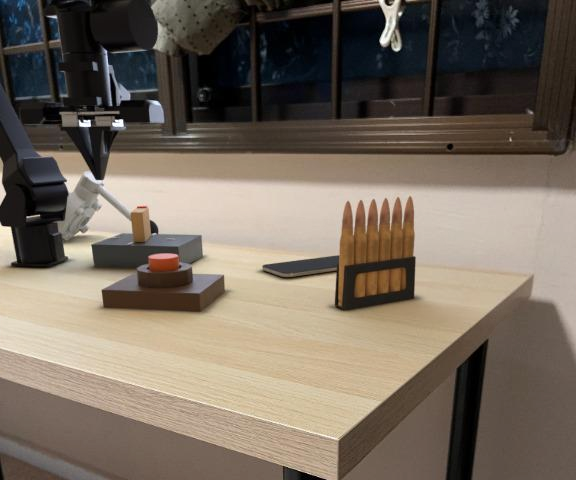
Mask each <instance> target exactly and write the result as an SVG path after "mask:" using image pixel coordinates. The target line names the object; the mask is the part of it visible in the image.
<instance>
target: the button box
mask: <svg viewBox="0 0 576 480" xmlns="http://www.w3.org/2000/svg"><path fill="white" fill-rule="evenodd" d="M135 270H136V271H135V272H133V273H132V274H129V275H127V276H125V277H124V278H122V279H120V280H118V281H116V282H113V283H112V284H110V285H108V286H106V287H104V288H102V289H101V296H102V304H103V308H105V309H124V310H125V309H126V310H127V309H128V310H146V311H147V310H149V311H171V312H173V311H174V312H192V313H193V312H194V313H195V312H196V313H201V312H202V311H204V310H205V309H206V308H207V307H208V306H209V305H210V304H212V303H214V301H215V300H217V299H218V298H219V297H220V296H221V295H223V293H225V292H226V287H225V286H226V285H225V274H218V273H217V274H213V273H194V272H193V266H192V264H187V263H181V262H179V269H175V270H168V271H152V270H149V264H145V265H142V266H140V267H138V268H135Z"/></svg>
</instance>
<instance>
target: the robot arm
mask: <svg viewBox="0 0 576 480" xmlns="http://www.w3.org/2000/svg"><path fill="white" fill-rule="evenodd" d="M88 1H89V2H90V4H89V3H87V1H85V0H70V1H69V0H50V2H49V3H48V4H47V5H46V6H45V8H44V9H43V16H45V17H47V18H52V19H56V21H57V27H58V29H57V30H58V35H59V36H58V37H59V43H60V51H61V57H62V62H61V61H60V62H57V66H58V72H62V73H64V80H65V87H66V96H67V97H62V102H53V101H23V102H21V104H20V107H19V110H18V115H17V113H16V111H15V108H14V107H13V105H12V104H11V101H10V99H9V97H8V95H7V94H6V91H5V89H4V87H3V86H2V84H1V82H0V160H1V162H2V175H1V185H2V188H3V189H4V190H3V191H4V193H5V195H4V197H3V199H2V201H1V203H0V225H1V227H4V228H5V227H6V228H7V227H8V228H10V231H11V236H12V237H11V238H12V242H13V247H14V253H15V259H16V260H15V261H12V262H10V266H11V267H35V268H37V267H39V268H44V267H45V268H49V267H52V266H54V265H58V264H59V263H63V262H65V261H67V260H69V256H67V255H66V253H65V248H64V247H65V246H64V241H63V240H64V239H62V234H61V232H59V230H58V223H57V221H65V215H66V207H67V199H68V196H69V194H68V191H69V189H68V186H67V184H66V183H67V182H68V179H67V178H66V177H64V175H63V173H62V172H61V169H60V167H59V164H58V162H57V160H56V159H55V157H54V156H42V155H41V154H39V153H38V152H37V151H36V150H35V148H34V147H33V144H32V143H31V139H29V137H28V135H27V132H26V130H25V128H24V127H23V125H29V126H30V125H31V126H32V125H34V126H36V125H37V126H42V125H43V126H48V125H49V126H50V125H51V126H52V125H53V126H55V125H56V126H57V125H61V126H59V131H60V132H66V134H67V135H68V137H69V138H70V140H71V141H72V143H73V144H74V145H75V147H76V148H77V150H78V152H79V153H80V155H81V156H82V158H83V160H84V162H85V164H86V166H87V167H88V169H89V171H90V172H92V174H93V176H94V178H95V180H103V181H104V180H105V178H106V173H107V169H108V168H107V167H108V163H109V160H110V154H111V152H112V151H111V150H112V148H113V144H114V142H115V139H116V138H117V136H118V135H119V133H121V131H123V132H124V131H126V128H127V126H124V123H126V124H139V123H140V124H165V115H164V114H165V113H164V108H163V106H162V104H161V103H160V102H159V101H158V100H152V99H151V100H150V99H131V93H130V92H129V91H128V89H126V88H125V87H124V86H123V85H122V84H121V83H120V82H117V80H116V76H115V71H114V67H113V65H111V64H109V60H108V53H110V54H119V53H121V54H122V53H130V52H131V53H132V52H133V53H134V52H143V51H145V52H146V51H150V50H153V48H154V47H155V46H156V45H157V42H158V37H159V23H158V21H157V19H156V16H155V13H154V10H153V8H152V7H151V5H150V4H149V2H148V1H147V0H88ZM84 109H86V111H83V110H84ZM81 110H82V111H81ZM18 116H19V117H18ZM91 121H94V122H95V126H91Z"/></svg>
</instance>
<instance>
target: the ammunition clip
mask: <svg viewBox="0 0 576 480" xmlns="http://www.w3.org/2000/svg"><path fill="white" fill-rule="evenodd" d="M369 204H370V205H369V207H368V212H367V220H366V209H365V204H364V202H363V200H362V199H360V200H359V201H358V204H357V207H356V211H355V215H353V209H352V205H351V202H350V200H347V201H346V202H345V205H344V207H343V212H342V220H341V233H340V239H339V252H338V253H339V263H337V271H335V272H336V273H335V274H336V275H335V291H334V292H335V293H334V306H335V307H336V308H338V309H341V310H343V311H346V310H352V309H358V308H364V307H365V308H366V307H371V306H376V305H382V304H388V303H394V302H400V301H404V300H411V299H415V290H416V289H415V287H416V263H417V261H416V259H417V257H416V256H415V236H416V235H415V206H414V200H413V198H412V196H411V195H409V196H408V198H407V200H406V203H405V208H404V212H403V206H402V202H401V199H400V197H399V196H398V197H396V199H395V201H394V204H393V208H392V214H391V210H390V203H389V201H388V198H387V197H385V198H384V199H383V201H382V205H381V208H380V211H378V206H377V201H376V199H375V198H372V200H371V201H370V203H369ZM378 212H379V213H378ZM353 216H355V217H354V218H353ZM366 222H367V223H366Z"/></svg>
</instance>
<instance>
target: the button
mask: <svg viewBox="0 0 576 480" xmlns="http://www.w3.org/2000/svg"><path fill="white" fill-rule="evenodd" d="M148 261H149V270H152V271H168V270H175V269H179V257H178V255H177V254H169V253H164V254H154V255H150V256H149V257H148Z"/></svg>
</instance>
